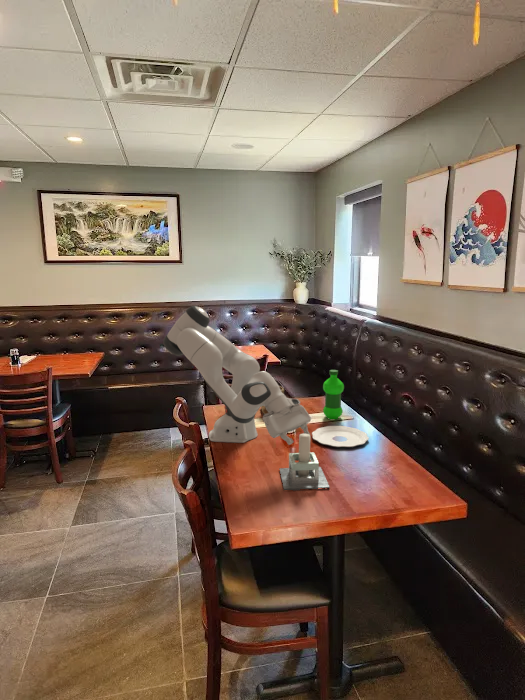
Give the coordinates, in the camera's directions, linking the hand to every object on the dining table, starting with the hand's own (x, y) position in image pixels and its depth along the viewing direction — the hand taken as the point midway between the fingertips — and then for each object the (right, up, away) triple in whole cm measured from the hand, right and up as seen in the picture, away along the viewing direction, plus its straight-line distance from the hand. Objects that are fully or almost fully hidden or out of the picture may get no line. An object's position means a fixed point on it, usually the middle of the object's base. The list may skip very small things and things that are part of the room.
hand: (299, 439), depth 163 cm
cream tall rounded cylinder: (+1, -14, 0) cm, 14 cm away
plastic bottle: (+22, -2, +66) cm, 70 cm away
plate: (+21, -8, +39) cm, 45 cm away
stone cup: (-8, -1, +76) cm, 76 cm away
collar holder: (+1, -14, 0) cm, 15 cm away
